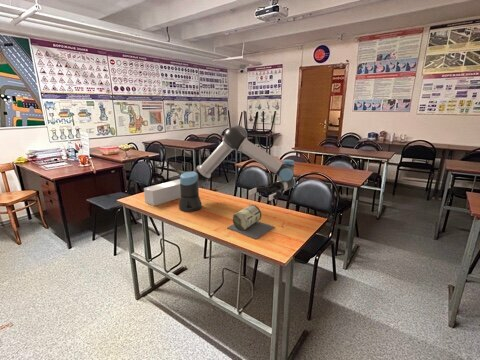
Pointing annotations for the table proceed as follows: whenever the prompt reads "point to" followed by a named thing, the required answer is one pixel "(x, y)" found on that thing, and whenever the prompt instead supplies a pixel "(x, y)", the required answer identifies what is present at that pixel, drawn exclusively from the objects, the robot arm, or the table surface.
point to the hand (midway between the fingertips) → (259, 195)
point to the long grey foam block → (162, 192)
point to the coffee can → (246, 217)
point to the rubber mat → (254, 229)
